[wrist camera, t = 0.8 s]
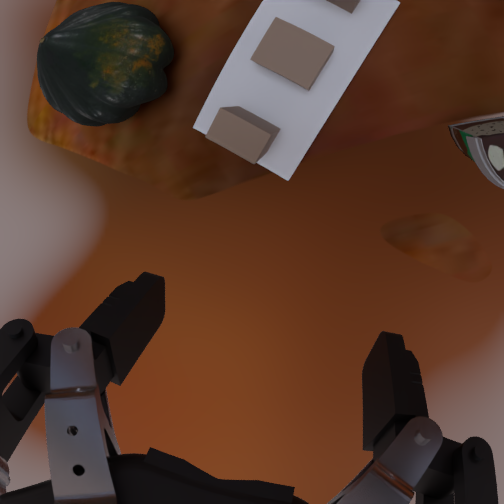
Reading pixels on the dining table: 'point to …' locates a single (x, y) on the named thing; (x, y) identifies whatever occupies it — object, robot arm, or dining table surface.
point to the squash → (104, 63)
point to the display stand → (289, 77)
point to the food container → (483, 145)
